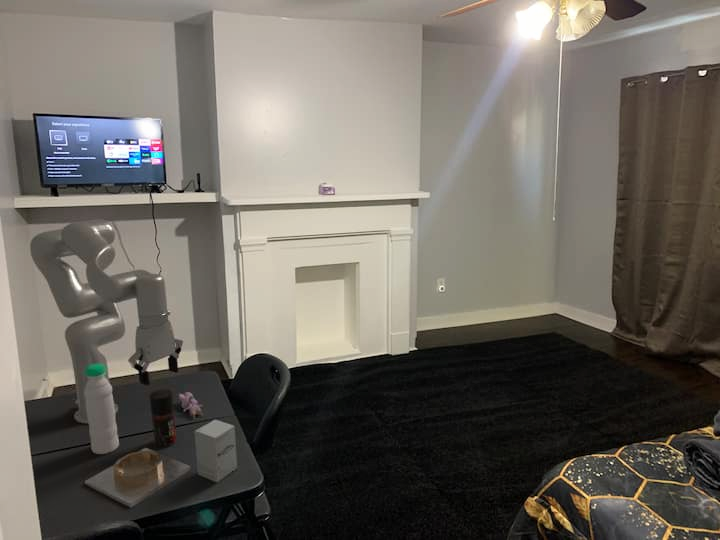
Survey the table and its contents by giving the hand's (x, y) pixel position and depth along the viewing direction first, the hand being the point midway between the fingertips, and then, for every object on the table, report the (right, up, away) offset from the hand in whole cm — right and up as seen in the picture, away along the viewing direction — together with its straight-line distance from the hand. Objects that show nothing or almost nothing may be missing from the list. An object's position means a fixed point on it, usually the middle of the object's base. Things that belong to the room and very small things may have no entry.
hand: (159, 377), depth 153 cm
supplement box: (+19, -23, -10) cm, 31 cm away
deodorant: (0, -20, +5) cm, 20 cm away
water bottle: (-16, -21, +2) cm, 26 cm away
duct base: (-1, -23, -12) cm, 26 cm away
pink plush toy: (+1, -15, +24) cm, 29 cm away
